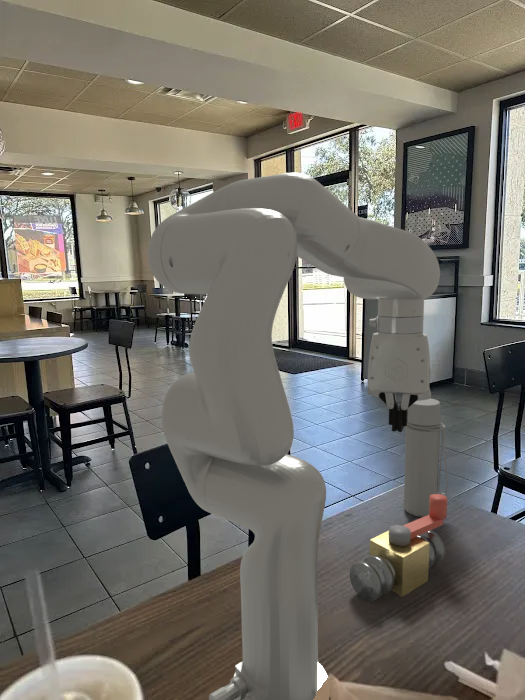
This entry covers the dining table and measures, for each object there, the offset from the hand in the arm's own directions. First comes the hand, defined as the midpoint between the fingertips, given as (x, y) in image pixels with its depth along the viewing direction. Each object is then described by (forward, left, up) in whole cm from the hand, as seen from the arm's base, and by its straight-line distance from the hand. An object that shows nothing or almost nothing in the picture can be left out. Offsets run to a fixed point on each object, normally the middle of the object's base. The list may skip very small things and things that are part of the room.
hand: (397, 429), depth 90 cm
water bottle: (+20, +8, -25) cm, 33 cm away
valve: (-4, -4, -25) cm, 26 cm away
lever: (+1, -4, -18) cm, 18 cm away
